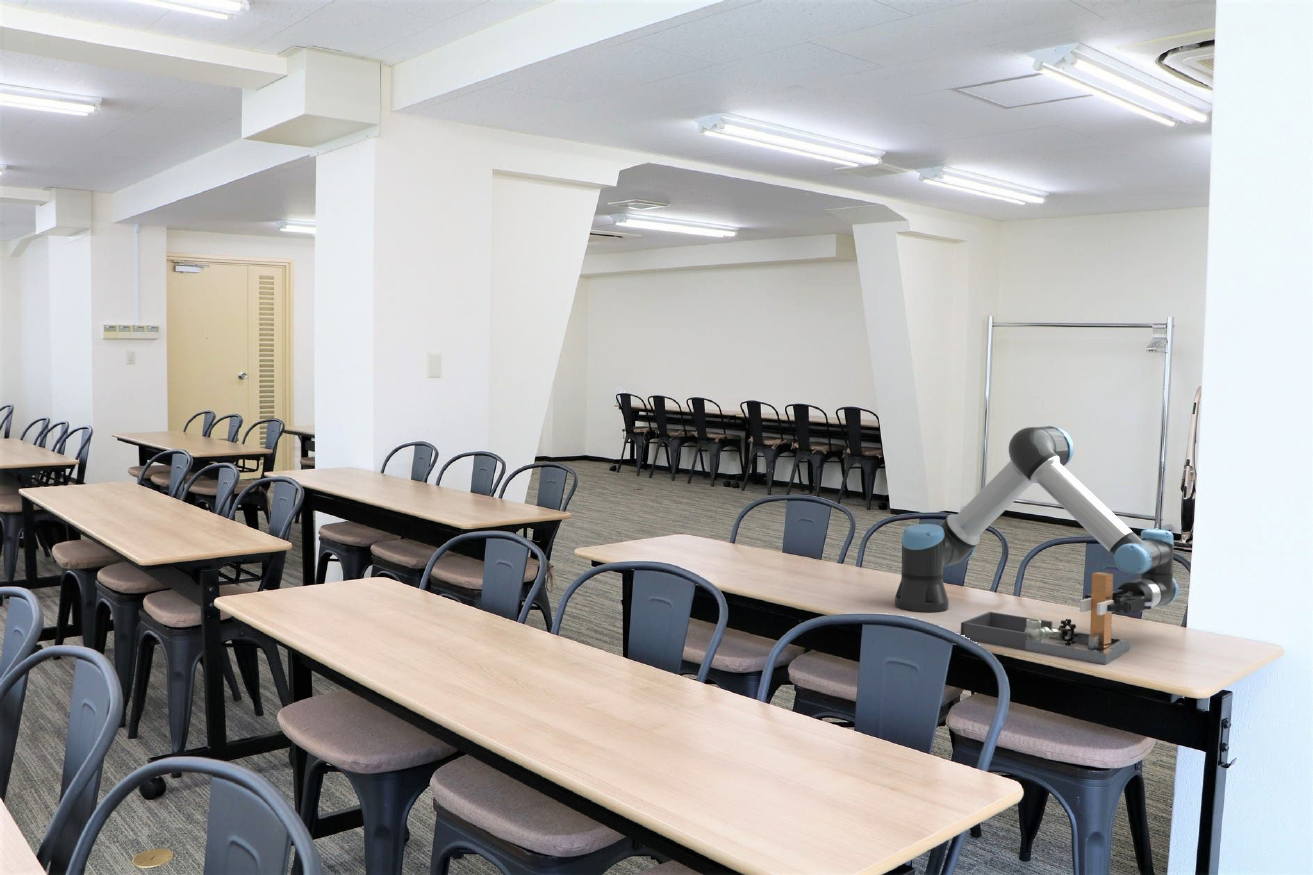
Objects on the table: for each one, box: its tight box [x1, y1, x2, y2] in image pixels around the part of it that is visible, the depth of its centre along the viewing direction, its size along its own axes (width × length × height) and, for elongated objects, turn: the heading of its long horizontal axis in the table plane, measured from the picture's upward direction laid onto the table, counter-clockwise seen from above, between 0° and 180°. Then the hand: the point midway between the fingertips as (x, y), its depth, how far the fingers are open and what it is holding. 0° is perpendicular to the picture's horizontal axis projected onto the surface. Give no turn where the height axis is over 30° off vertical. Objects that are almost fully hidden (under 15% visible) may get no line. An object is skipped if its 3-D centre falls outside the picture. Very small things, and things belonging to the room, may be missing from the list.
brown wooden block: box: [1087, 571, 1114, 651], centre depth 236 cm, size 13×4×18 cm, turn 139°
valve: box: [1024, 618, 1078, 646], centre depth 243 cm, size 7×7×12 cm
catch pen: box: [960, 611, 1053, 651], centre depth 251 cm, size 18×16×4 cm
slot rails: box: [1024, 626, 1131, 666], centre depth 239 cm, size 18×18×2 cm
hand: (1090, 607), depth 232 cm, fingers closed on brown wooden block, 3 cm apart
